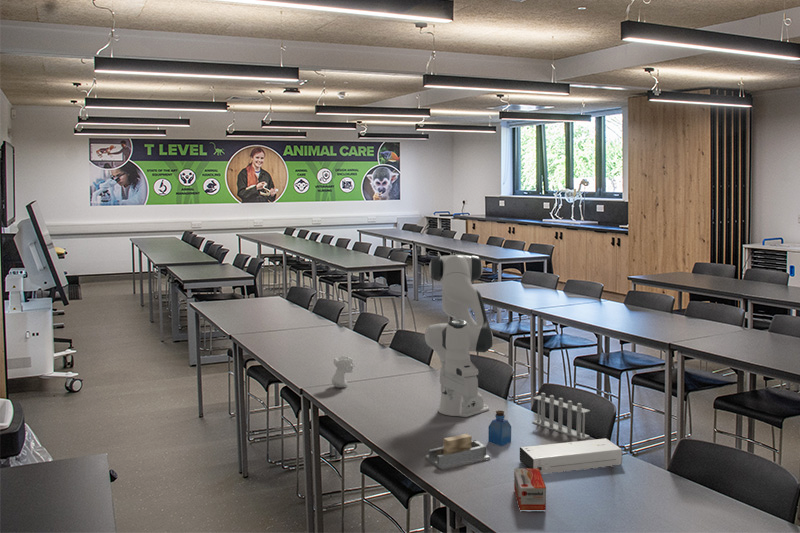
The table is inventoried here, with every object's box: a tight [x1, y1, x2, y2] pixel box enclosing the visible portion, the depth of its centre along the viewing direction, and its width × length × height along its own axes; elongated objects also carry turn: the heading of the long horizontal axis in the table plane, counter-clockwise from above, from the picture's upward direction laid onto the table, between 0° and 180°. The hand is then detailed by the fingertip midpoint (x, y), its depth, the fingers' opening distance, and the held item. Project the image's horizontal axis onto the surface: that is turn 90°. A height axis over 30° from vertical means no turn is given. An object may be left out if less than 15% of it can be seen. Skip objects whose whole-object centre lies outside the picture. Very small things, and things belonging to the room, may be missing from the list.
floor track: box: [425, 439, 491, 471], centre depth 247 cm, size 20×12×4 cm, turn 118°
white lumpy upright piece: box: [331, 355, 355, 388], centre depth 335 cm, size 10×11×15 cm
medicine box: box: [513, 467, 547, 511], centre depth 214 cm, size 15×8×8 cm, turn 178°
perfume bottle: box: [487, 410, 512, 447], centre depth 263 cm, size 6×6×12 cm
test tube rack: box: [531, 392, 591, 441], centre depth 275 cm, size 25×4×13 cm, turn 40°
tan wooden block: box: [443, 433, 473, 454], centre depth 247 cm, size 10×3×7 cm, turn 118°
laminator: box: [519, 437, 623, 475], centre depth 242 cm, size 34×12×6 cm, turn 103°
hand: (457, 403), depth 245 cm, fingers open, 8 cm apart
